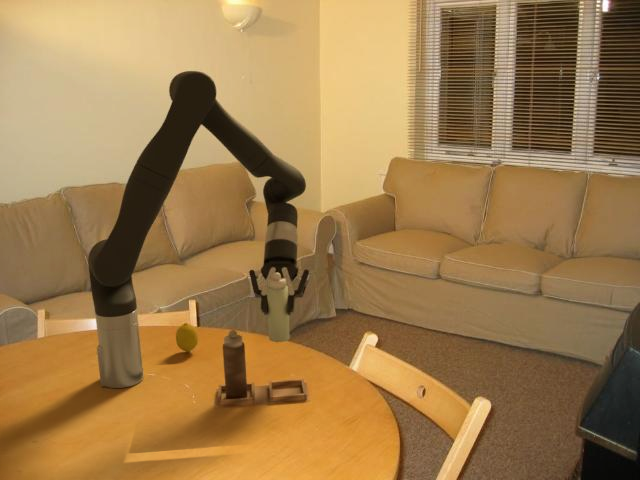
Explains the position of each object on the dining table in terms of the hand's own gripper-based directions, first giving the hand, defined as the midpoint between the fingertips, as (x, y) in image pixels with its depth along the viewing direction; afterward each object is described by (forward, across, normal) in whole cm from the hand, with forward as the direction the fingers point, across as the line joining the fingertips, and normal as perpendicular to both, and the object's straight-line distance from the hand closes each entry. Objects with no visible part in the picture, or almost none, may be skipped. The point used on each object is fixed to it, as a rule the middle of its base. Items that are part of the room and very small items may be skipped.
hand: (277, 313), depth 159 cm
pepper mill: (+16, -9, +7) cm, 20 cm away
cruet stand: (+17, -3, +9) cm, 19 cm away
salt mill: (+3, 0, +6) cm, 7 cm away
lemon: (-2, -26, +27) cm, 38 cm away
